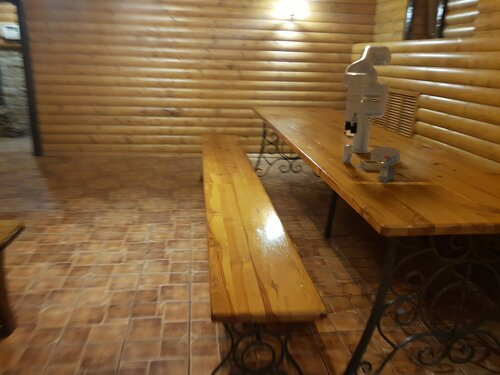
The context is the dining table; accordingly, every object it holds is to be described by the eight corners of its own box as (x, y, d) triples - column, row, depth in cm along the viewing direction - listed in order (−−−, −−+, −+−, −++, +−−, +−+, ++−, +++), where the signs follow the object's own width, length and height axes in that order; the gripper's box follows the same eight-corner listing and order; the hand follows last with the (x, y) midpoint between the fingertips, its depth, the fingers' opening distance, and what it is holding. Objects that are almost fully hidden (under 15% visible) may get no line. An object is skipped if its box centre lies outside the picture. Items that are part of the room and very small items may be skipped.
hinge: (370, 163, 212) (371, 145, 213) (368, 164, 217) (369, 146, 217) (401, 164, 211) (402, 146, 211) (398, 165, 216) (399, 147, 216)
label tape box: (385, 178, 186) (388, 153, 182) (393, 180, 184) (397, 155, 180) (378, 182, 180) (381, 156, 176) (386, 184, 177) (390, 158, 173)
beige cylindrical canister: (341, 163, 209) (343, 144, 206) (349, 163, 210) (351, 144, 206) (343, 165, 205) (345, 145, 202) (351, 166, 206) (353, 146, 202)
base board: (353, 166, 205) (353, 164, 204) (386, 167, 206) (386, 164, 205) (361, 174, 192) (362, 171, 191) (396, 174, 193) (397, 172, 192)
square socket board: (359, 166, 201) (361, 154, 199) (389, 166, 202) (391, 154, 199) (364, 170, 193) (366, 157, 191) (395, 171, 194) (397, 158, 192)
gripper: (342, 96, 204) (338, 128, 209) (352, 100, 188) (348, 134, 193) (356, 97, 204) (352, 129, 210) (367, 100, 188) (362, 135, 193)
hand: (350, 131), depth 201 cm, fingers open, 9 cm apart
